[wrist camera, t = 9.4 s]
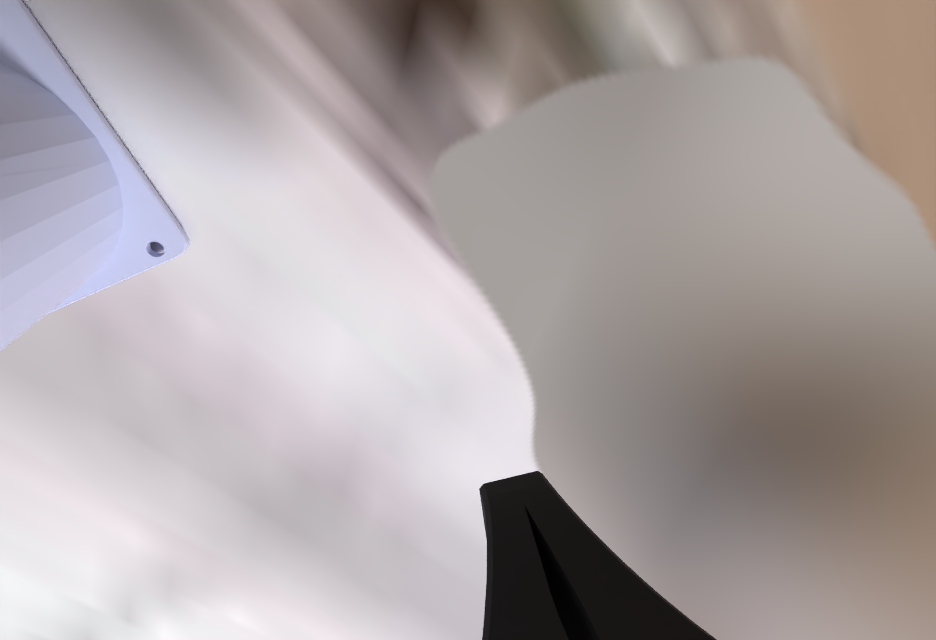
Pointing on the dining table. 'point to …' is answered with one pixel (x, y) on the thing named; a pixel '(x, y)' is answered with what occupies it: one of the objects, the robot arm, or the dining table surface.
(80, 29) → the dining table surface
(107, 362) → the dining table surface
